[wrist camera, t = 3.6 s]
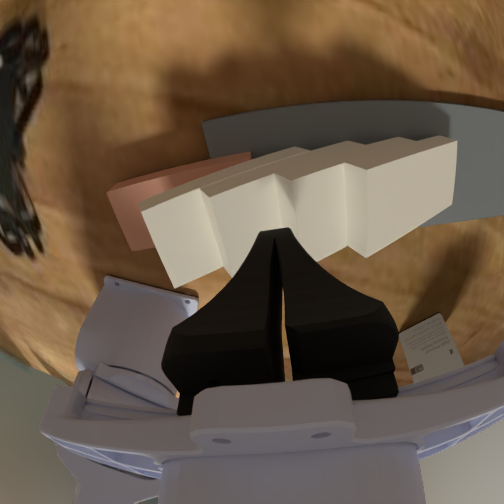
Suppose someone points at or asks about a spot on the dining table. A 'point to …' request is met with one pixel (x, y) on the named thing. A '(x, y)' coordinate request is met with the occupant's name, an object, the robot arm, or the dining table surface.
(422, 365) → the skincare box
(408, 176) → the domino
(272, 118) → the domino board
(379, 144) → the domino
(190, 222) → the domino
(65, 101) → the dining table surface
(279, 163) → the domino
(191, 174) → the end domino
